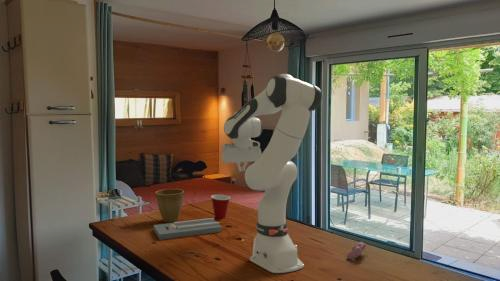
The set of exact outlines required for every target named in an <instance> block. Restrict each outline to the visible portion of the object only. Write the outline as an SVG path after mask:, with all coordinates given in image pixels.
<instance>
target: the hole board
mask: <svg viewBox="0 0 500 281" xmlns="http://www.w3.org/2000/svg"><path fill="white" fill-rule="evenodd" d="M169 225H175V226H176V229H171V230H168V226H169ZM153 231H154V233H155V235H156V237H158V240H160V241H162V240H168V239H169V240H170V239H177V238H178V239H179V238H185V237H193V236H198V235H207V234H215V233H222V231H223V226H222V225H221V224H220V222H219V221H215V218H214V217H210V218H201V219H192V220H183V221H176V222H171V223H167V222H166V223H160V224H153Z"/></svg>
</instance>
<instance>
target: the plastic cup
mask: <svg viewBox="0 0 500 281" xmlns="http://www.w3.org/2000/svg"><path fill="white" fill-rule="evenodd" d="M210 197H211V202H212V207H213V213H214V217H215V218H214V219H217V220H224V219H226V217H227V212H228V206H229V202H230V199H231V196H229V195H224V194H213V195H210Z"/></svg>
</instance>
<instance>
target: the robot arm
mask: <svg viewBox="0 0 500 281" xmlns="http://www.w3.org/2000/svg"><path fill="white" fill-rule="evenodd" d="M322 97H323V95H322V91H321V89H320V87H318V86H316V85H314V84H312V83H309V82H307V81H302V80H300V79H298V78H296V77H295V78H294V77H293V76H292V75H291V74H288V73H281V74H277V75H273V76H272V77H271V78H270V79H269V80H268V82H267V85H266V87H265V88H264V90H262V91H261V93H259V94H258V95H256V96H255V97H253V98H252V99H250V100H248V101H247V102H246V103H244V105H242V107H241V108H239V110H237V111H235V112H234V114H233V115H231V116H229V117H228V118H227V119H226V120H225V122H224V126H223V130H224V133H225V135H226V136H227V137H228V138H229V139H231V140H232V142H231V143H225V144H223V145H222V147H221V151H222V155H221V161H222V162H223V163H225V164H231V163H236V167H238V168H237V169H238V172H245V173H244V180H245V183H246V185H247V187H249V189H251V190H253V191H264V193H263V196H262V197H261V198H260V199H259V201H258V203H257V222H256V235H255V237H254V238H253V247H252V255H251V256H249V261H250V262H252V263H254V264H256V265H257V266H259V267H261V268H262V269H263V270H264V269H265V270H266V271H268V272H270V273H273V274H283V273H290V272H295V271H298V270H299V271H300V270H301V269H303V268H304V267H305V264H304V263H303V261H302V260H301V259H300V258H299V257H298V248H299V247H298V245H297V244H294V243H293V241H292V239H291V237H290V235H289V228H288V224H287V222H286V218H287V214H286V213H287V210H286V209H287V202H288V197H289V194H290V191H291V188H292V186H293V184H294V182H295V181H296V180H297V177H298V174H299V171H298V167H297V165H296V164H295V163H294V162H293V161H291V160H292V159H293V158H295V156H296V155H297V153H298V151H299V148H300V147H301V144H302V141H303V139H304V137H305V135H306V132H307V130H308V126H309V123H310V116H311V112H313V111H315V110H316V109H317V108H318V107H319V106H320V104H321V102H322V99H323V98H322ZM280 111H281V115H280V116H279V119H278V122H277V124H276V126H275V129H274V131H273V133H272V135H271V138H270V141H269V142H268V144H267V146H266V147H265V149H264V150H263V151H262V150H261V143H260V142H259V141H255V140H253V139H251V138H257V137H260V136H261V135H262V132H263V130H264V127H263V126H264V125H263V122H262V120H261V119H260V118H258V117H257V116H263V115H273V114H277V113H278V112H280ZM249 162H250V163H251V162H253V163H252V164H250V165H249V166H247V165H248V163H249ZM241 163H242V164H243V165H242V166H241ZM246 167H247V168H246Z"/></svg>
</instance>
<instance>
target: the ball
mask: <svg viewBox="0 0 500 281" xmlns="http://www.w3.org/2000/svg"><path fill="white" fill-rule="evenodd" d="M171 229H176V226H175V225H169V226H168V230H171Z"/></svg>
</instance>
